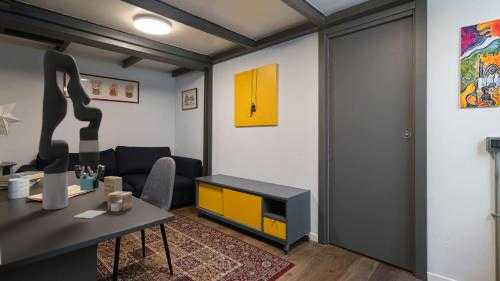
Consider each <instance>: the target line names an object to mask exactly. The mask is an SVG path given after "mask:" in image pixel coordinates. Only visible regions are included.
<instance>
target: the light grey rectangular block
mask: <svg viewBox="0 0 500 281" xmlns="http://www.w3.org/2000/svg"><path fill="white" fill-rule="evenodd" d="M119 211H122V200H120V201H117V202H115V203H112V204H111V210H110V212H119Z"/></svg>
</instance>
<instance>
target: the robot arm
mask: <svg viewBox="0 0 500 281" xmlns="http://www.w3.org/2000/svg"><path fill="white" fill-rule="evenodd" d="M42 61H43V65H42V66H43V96H42V97H43V98H42V107H41V108H42V111H41V113H42V114H41V115H42V116H41V117H42V118H41V131H40V137H39V142H38V155H39V158H40V159H41V160H55V161H54V162H53V163H51V164H50V165H47V166H45V167H44V168H43V188H41V194H42V195H41V197H42V199H41V201H42V204H41V205H42V209H44V210H46V211H47V210H48V211H49V210H50V211H52V210H59V209H64V208H66V207H68V206H69V183H68V182H69V181H68V180H69V179H68V178H69V177H68V168H69V156H70V147H69V143H68V142H67V140H64V139H53V135H54V132H55V131H56V128H57V127H58V126H59V125H60V124H61V123H62V122H63V121H64V120H65V118H66V116H67V115H68V114H67V113H68V98H67V97H66V95H65V93H64V91H63V90H62V88H61V86H60V85H59V82H58V79H57V78H58V76H57V73H62V74H63V73H64V74H66V75H67V76H68V78H69V79H68V83H67V85H66V92H67V94H68V97H69V98H70V101H71V102H72V110H73V116H74V118H75V119H76V120H77V121H79V122H88V125H87V126H83V127H81V128H79V132H78V134H79V143H78V144H79V145H78V160H79V162H80V163H79V165H78V164H77V165H74V166H73V169H74V174H75V178H76V180H80V179H83V178H88V177H89V176H88V175H89V174H90V177H92V178H93V180H94V181H93V189H95V190H98V189H97V188H98V187H99V188H100V180H102V179H104V175H105V171H106V165H101V164H100V163H99V161H100V143H99V130H100V127H101V123H102V120H103V112H102V109H101V108H100V107H98V106H92V105H89V104H90V103H91V98H90V96H89V93H88V91H87V90H86V88H85V86H84V84H83V80H82V78H81V75H80V72H79V71H80V70H79V68H78V66H77V62H76V60H75V58H74V57H73V55H71V54H69V53H65V52H62V51H58V50H54V49H47V50H45V53H44V55H43V60H42Z"/></svg>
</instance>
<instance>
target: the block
mask: <svg viewBox="0 0 500 281" xmlns="http://www.w3.org/2000/svg"><path fill="white" fill-rule="evenodd" d="M79 180H80V182H79V184H80V185H79V188H80V192H81V191H82V192H83V191H85V192H91V191H95V190H98V189H100V186H99V187H98V188H97V189H93V181H94V180H93V178H92V176H87V178H83V179H79Z"/></svg>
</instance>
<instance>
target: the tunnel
mask: <svg viewBox="0 0 500 281" xmlns="http://www.w3.org/2000/svg"><path fill="white" fill-rule="evenodd" d="M118 197H122V209H121V211H124V212H125V211H126V210H129V209H131V208H133V199H132V198H133V192H132V191H122V192H118V191H116V192H113V193H110V194H108V202H107V210H108V211H111V204H112V203H115V202H117V201H118Z"/></svg>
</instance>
